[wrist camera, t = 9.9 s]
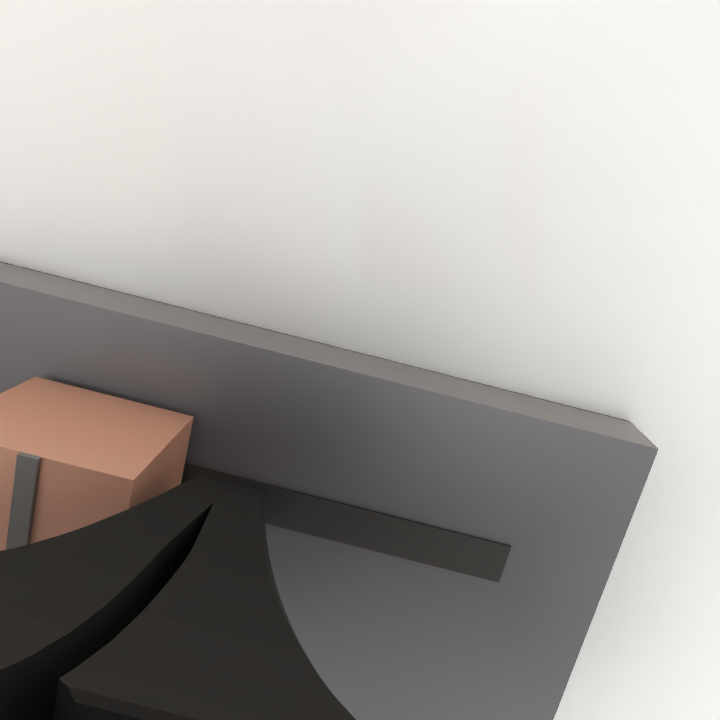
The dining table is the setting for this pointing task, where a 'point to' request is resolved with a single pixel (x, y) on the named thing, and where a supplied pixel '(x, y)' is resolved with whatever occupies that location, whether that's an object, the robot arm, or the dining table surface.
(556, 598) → the console
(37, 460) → the fader terracotta
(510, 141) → the dining table surface
